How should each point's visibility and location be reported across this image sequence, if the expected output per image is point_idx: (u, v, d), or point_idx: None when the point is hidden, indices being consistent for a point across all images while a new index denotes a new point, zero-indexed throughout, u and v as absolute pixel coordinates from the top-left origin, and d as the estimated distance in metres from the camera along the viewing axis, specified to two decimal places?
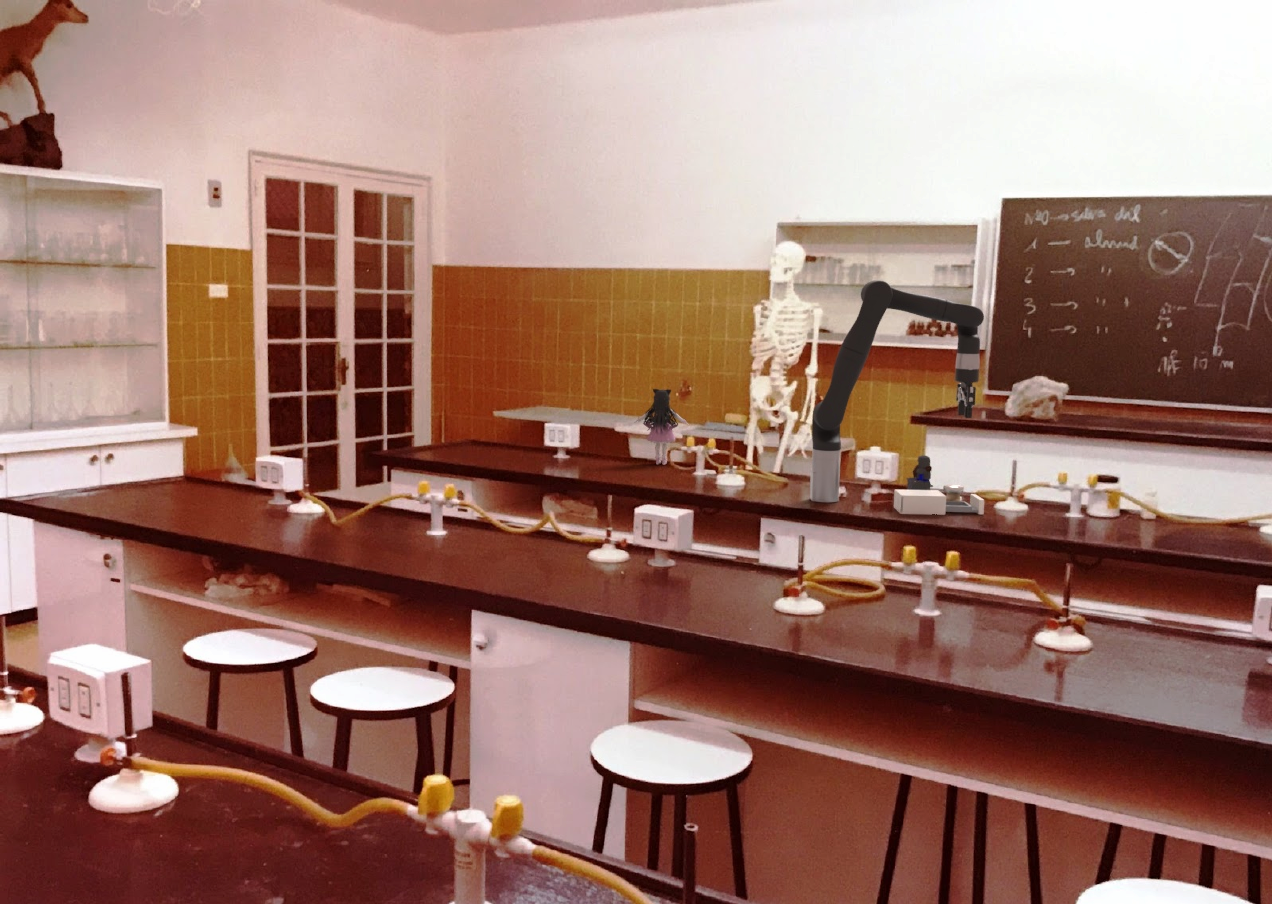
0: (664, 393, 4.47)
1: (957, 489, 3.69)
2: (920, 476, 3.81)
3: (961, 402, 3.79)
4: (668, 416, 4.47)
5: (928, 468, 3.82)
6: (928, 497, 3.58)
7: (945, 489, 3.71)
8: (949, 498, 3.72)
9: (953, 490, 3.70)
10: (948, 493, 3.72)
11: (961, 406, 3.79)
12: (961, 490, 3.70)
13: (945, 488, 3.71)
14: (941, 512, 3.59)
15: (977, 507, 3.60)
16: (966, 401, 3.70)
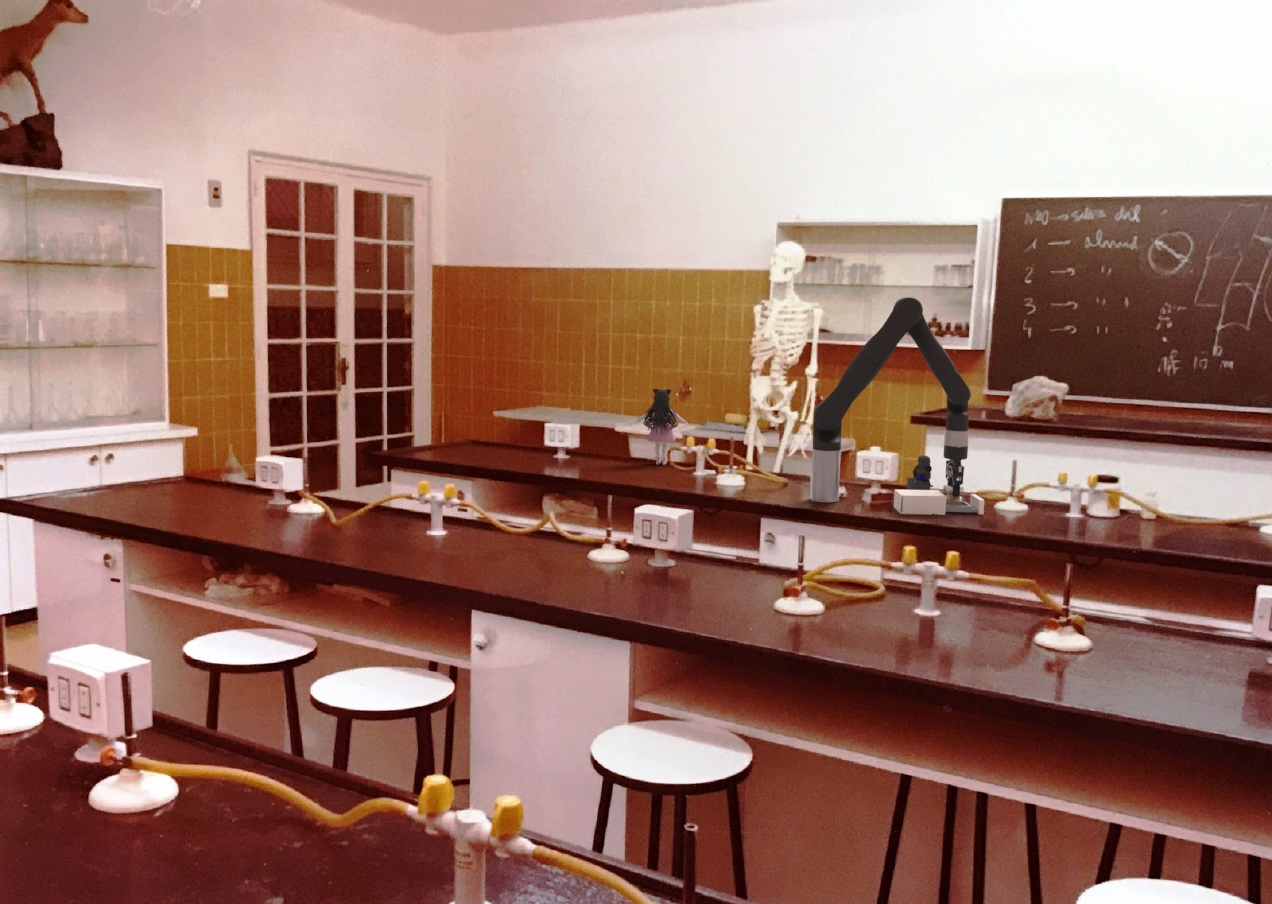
0: (664, 393, 4.47)
1: None
2: (920, 476, 3.81)
3: (950, 480, 3.76)
4: (668, 416, 4.47)
5: (928, 468, 3.82)
6: (928, 497, 3.58)
7: (945, 489, 3.71)
8: (949, 498, 3.72)
9: None
10: (948, 493, 3.72)
11: (950, 484, 3.76)
12: (961, 490, 3.70)
13: (945, 488, 3.71)
14: (941, 512, 3.59)
15: (977, 507, 3.60)
16: (954, 480, 3.68)
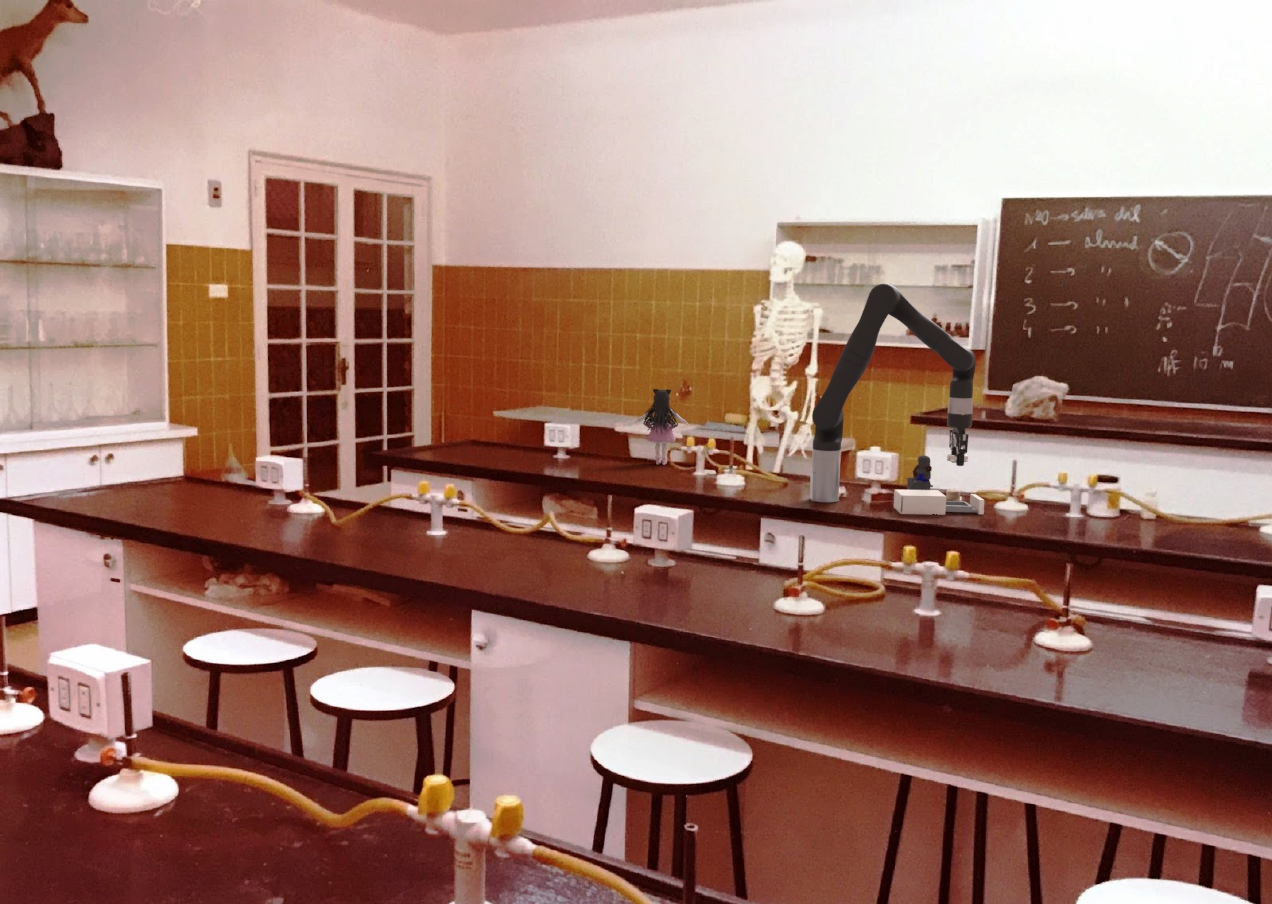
0: (664, 393, 4.47)
1: None
2: (920, 476, 3.81)
3: (954, 449, 3.65)
4: (668, 416, 4.47)
5: (928, 468, 3.82)
6: (928, 497, 3.58)
7: (949, 458, 3.61)
8: (949, 498, 3.72)
9: None
10: (948, 493, 3.72)
11: (954, 453, 3.65)
12: (965, 459, 3.59)
13: (949, 457, 3.61)
14: (941, 512, 3.59)
15: (977, 507, 3.60)
16: (958, 448, 3.57)
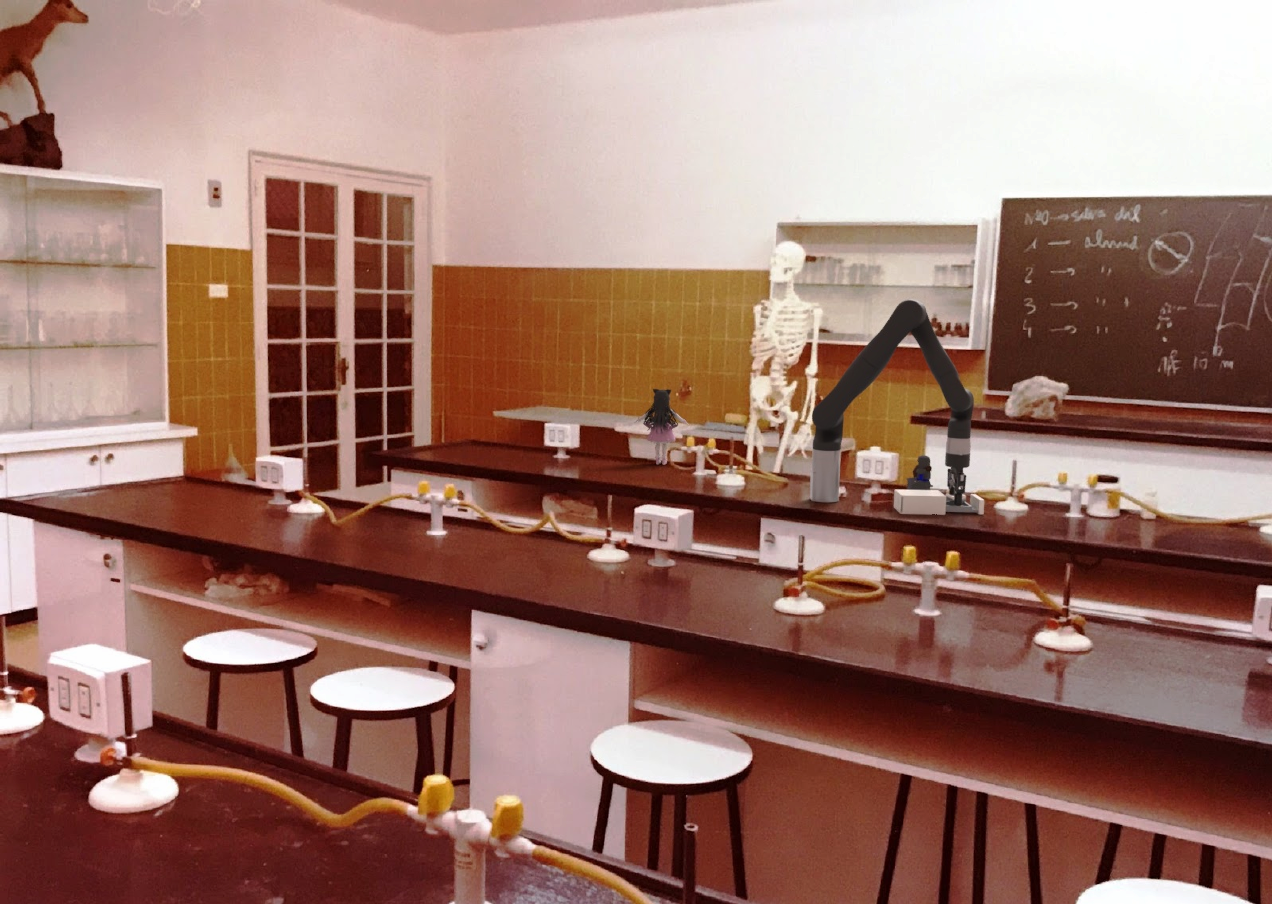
0: (664, 393, 4.47)
1: None
2: (920, 476, 3.81)
3: (952, 488, 3.66)
4: (668, 416, 4.47)
5: (928, 468, 3.82)
6: (928, 497, 3.58)
7: (947, 498, 3.62)
8: None
9: None
10: (948, 493, 3.72)
11: (952, 492, 3.66)
12: (963, 499, 3.61)
13: (947, 497, 3.62)
14: (941, 512, 3.59)
15: (977, 507, 3.60)
16: None
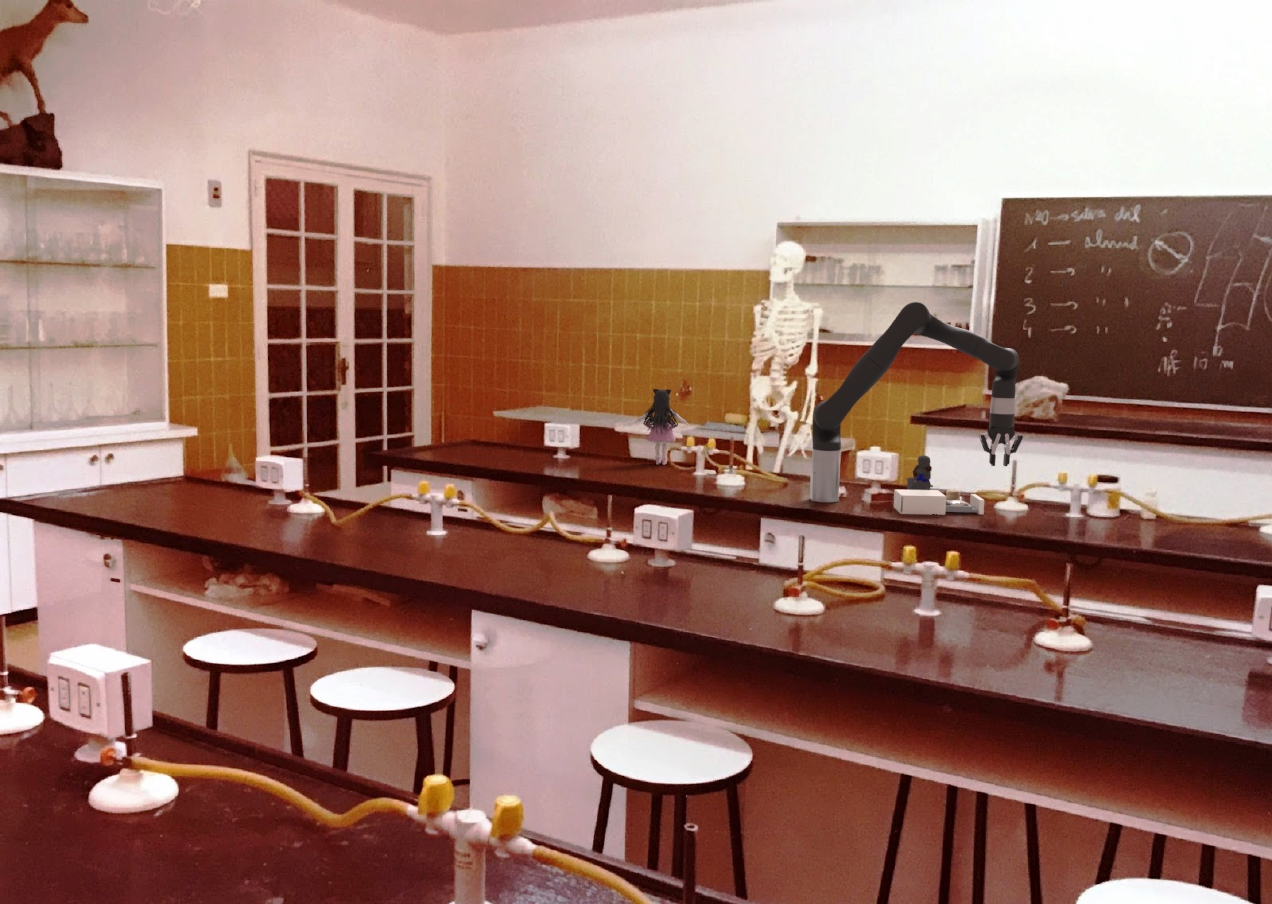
0: (664, 393, 4.47)
1: (959, 505, 3.61)
2: (920, 476, 3.81)
3: (1005, 452, 3.61)
4: (668, 416, 4.47)
5: (928, 468, 3.82)
6: (928, 497, 3.58)
7: (946, 505, 3.63)
8: (949, 498, 3.72)
9: None
10: (948, 493, 3.72)
11: (1004, 456, 3.61)
12: None
13: (946, 504, 3.63)
14: (941, 512, 3.59)
15: (977, 507, 3.60)
16: (990, 448, 3.62)
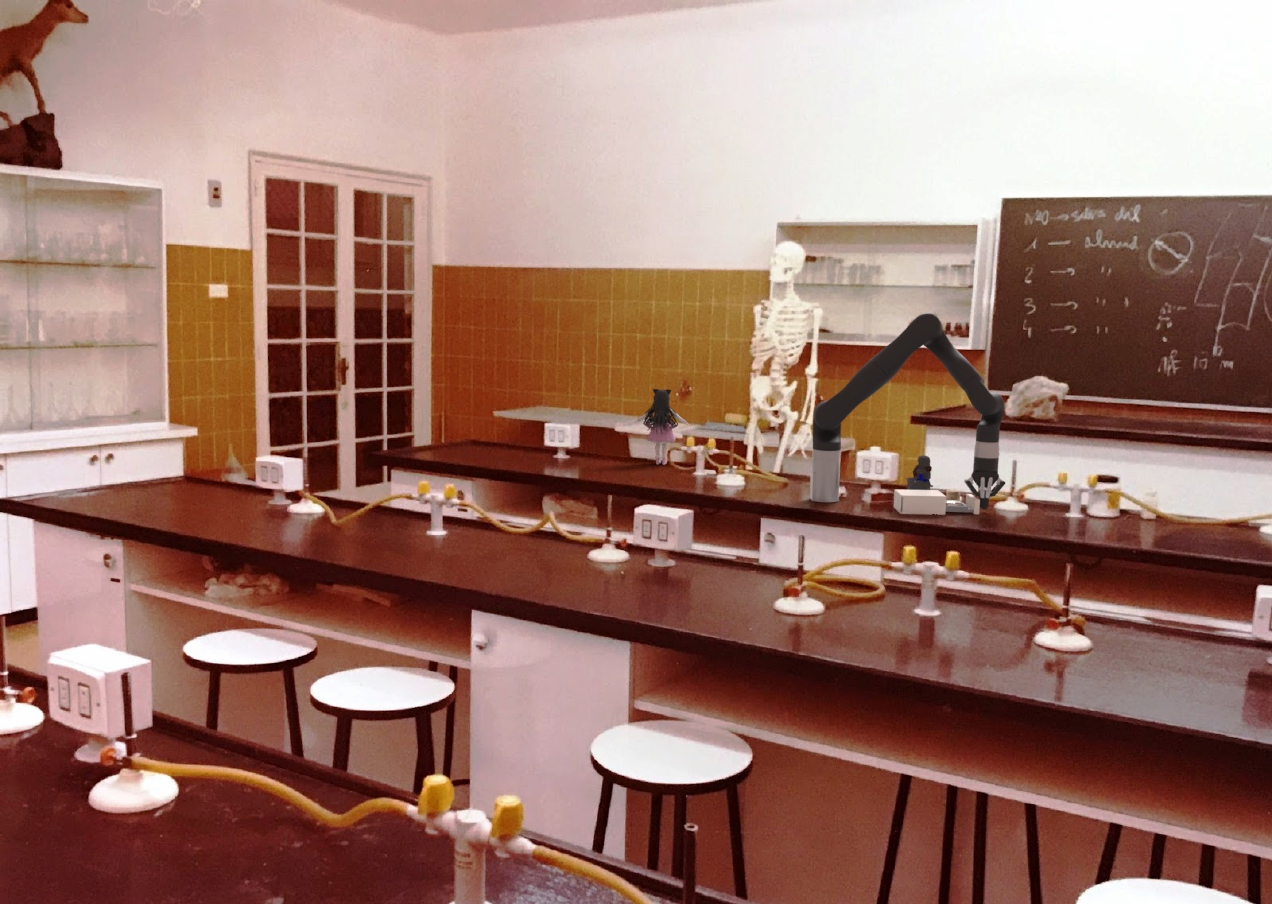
0: (664, 393, 4.47)
1: (954, 505, 3.61)
2: (920, 476, 3.81)
3: (984, 496, 3.63)
4: (668, 416, 4.47)
5: (928, 468, 3.82)
6: (928, 497, 3.58)
7: None
8: (949, 498, 3.72)
9: None
10: (948, 493, 3.72)
11: None
12: None
13: None
14: (941, 512, 3.59)
15: (973, 507, 3.60)
16: (978, 492, 3.64)
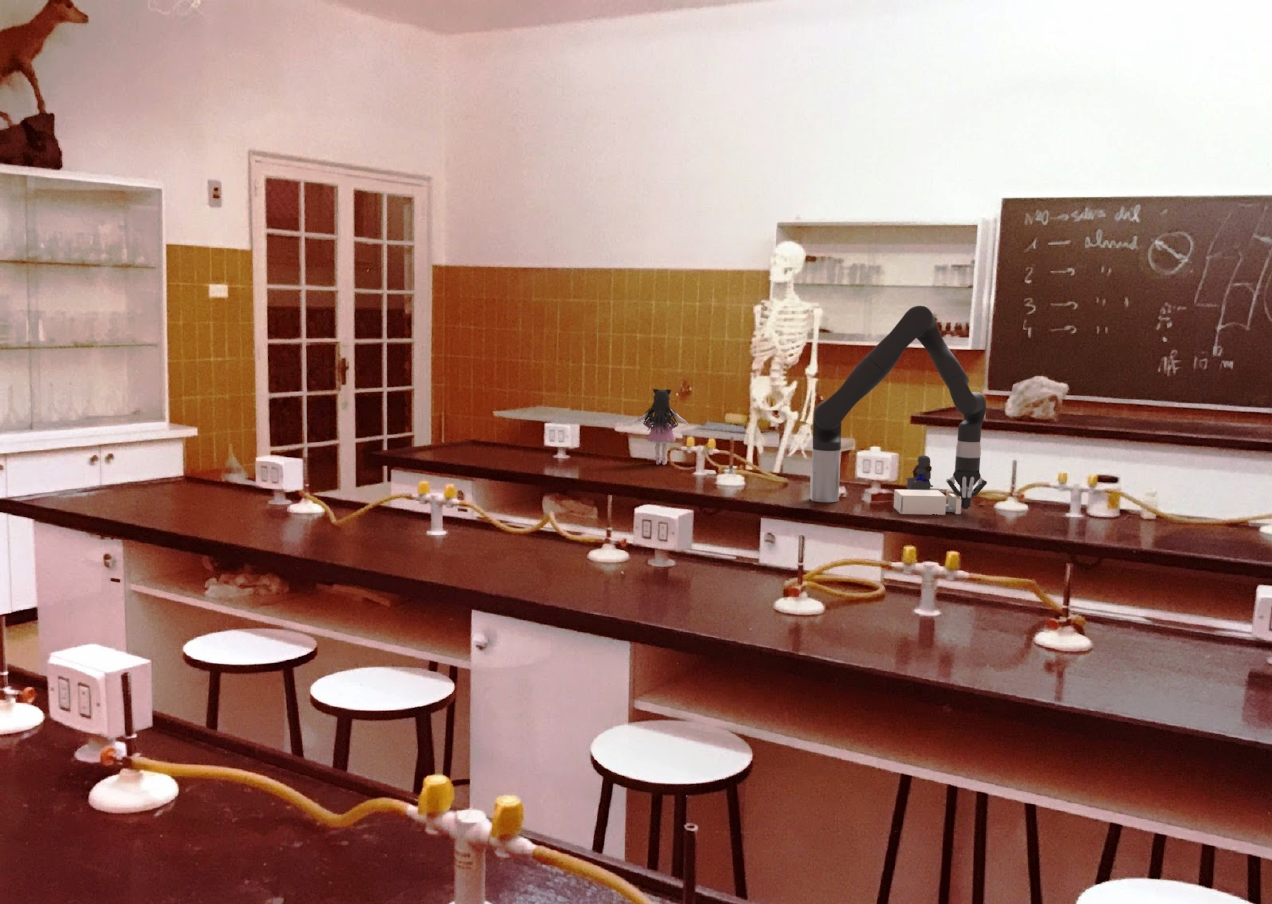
0: (664, 393, 4.47)
1: None
2: (920, 476, 3.81)
3: (966, 495, 3.64)
4: (668, 416, 4.47)
5: (928, 468, 3.82)
6: (928, 497, 3.58)
7: None
8: None
9: None
10: (948, 493, 3.72)
11: None
12: None
13: None
14: (941, 512, 3.59)
15: (954, 507, 3.60)
16: (960, 492, 3.64)
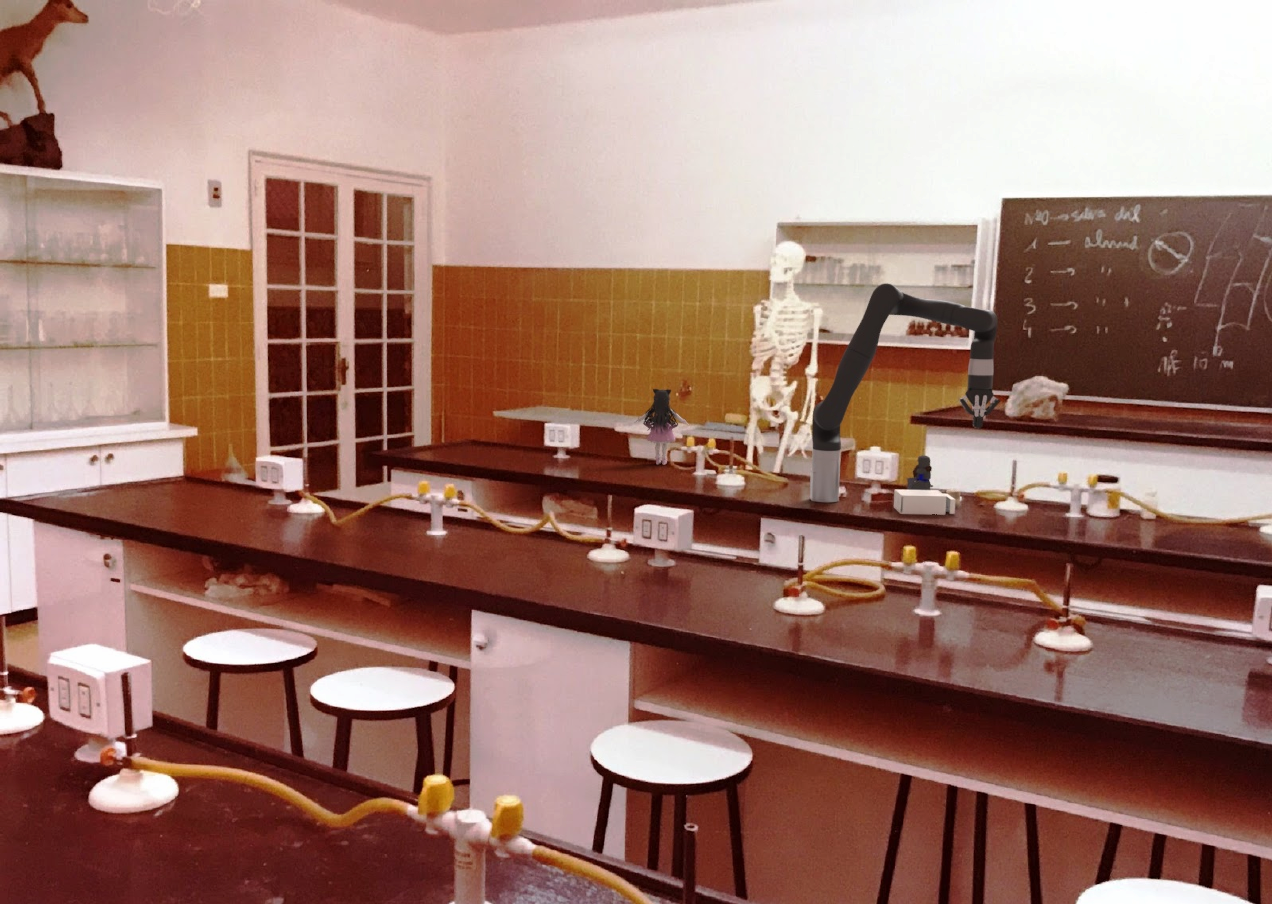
0: (664, 393, 4.47)
1: None
2: (920, 476, 3.81)
3: (978, 414, 3.60)
4: (668, 416, 4.47)
5: (928, 468, 3.82)
6: (928, 497, 3.58)
7: None
8: None
9: None
10: (948, 493, 3.72)
11: None
12: None
13: None
14: (941, 512, 3.59)
15: (948, 506, 3.60)
16: None
